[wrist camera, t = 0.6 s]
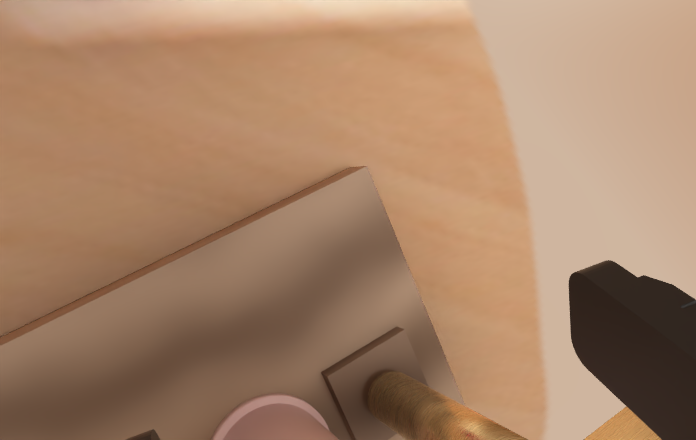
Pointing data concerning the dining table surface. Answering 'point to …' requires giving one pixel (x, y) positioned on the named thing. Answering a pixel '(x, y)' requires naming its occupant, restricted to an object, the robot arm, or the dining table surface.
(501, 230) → the dining table surface
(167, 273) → the base
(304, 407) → the cover
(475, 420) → the brass crank handle
